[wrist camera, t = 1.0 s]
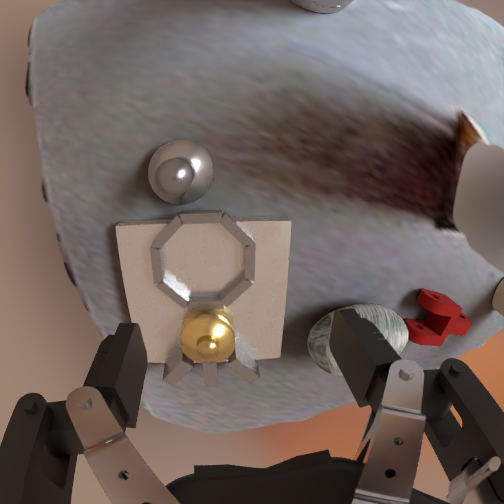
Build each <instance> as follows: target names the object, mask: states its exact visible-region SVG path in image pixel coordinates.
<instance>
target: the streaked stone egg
mask: <svg viewBox="0 0 504 504" xmlns="http://www.w3.org/2000/svg"><path fill="white" fill-rule="evenodd" d="M348 308H353V309H355V311H356V312H357V313H358V314H359V316H360V317H361V318H366V319H367V320H369V321H371V322H372V323H374V324H375V325H376V327H377V328H378V329H379V330H380V333H382V334H383V336H384V337H385V339H387V341H388V342H389V343H390V344H391V346H392V347H393V348H394V350H395V351H396V352H397V354H398V355H399V354H400V353H401V352H402V351H403V349H404V347H405V345H406V343H407V341H408V329H407V327H406V325H405V323H404V321H403V320H402V319H401V317H400V316H399V315H398V314H396V313H395V312H394V311H392V310H391V309H389V308H387V307H385V306H382V305H379V304H372V303H361V304H355V305H350V306H347V307H343V308H340V309H337V310H341V309H348ZM335 311H336V310H335ZM335 311H333V312H331V313H329V314H327V315H326V316H324V317H322V318H321V319H320V320H319V321H318V322H316V323H315V325H314V326H313V327H312V328H311V330H310V332H309V335H308V340H307V345H308V350H309V353H310V355H311V357H312V359H313V360H314V361H315V363H316V364H317V365H318V366H319V367H320V368H321V369H323V370H324V371H326V372H328V373H330V374H332V375H337V376H343V374H342V372H341V370H340V369H339V367H338V365H337V363H336V361H335V359H334V357H333V355H332V353H331V351H330V347H329V338H330V332H331V327H332V321H333V316H334V312H335Z"/></svg>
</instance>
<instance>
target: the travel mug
mask: <svg viewBox="0 0 504 504" xmlns="http://www.w3.org/2000/svg"><path fill="white" fill-rule="evenodd" d="M492 307H493V308H494V309H495V310H496V311H498V312H499V313H500V314H501V315H503V316H504V279H503V280H502V281H501V282H500V283H499V285H498V286H497V288H496V290H495V293H494V296H493V301H492Z"/></svg>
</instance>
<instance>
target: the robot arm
mask: <svg viewBox="0 0 504 504" xmlns="http://www.w3.org/2000/svg"><path fill="white" fill-rule="evenodd" d="M291 1H292V2H293V3H295V4H297V5H298V6H300V7H302V8H305V9H307V10H310V11H314V12H318V13H334V12H338V11H340V10H342V9H344V8H345V7H346V6H348V5H349V4H350V3H351V2H352V1H354V0H291ZM329 347H330V351H331V353H332V355H333V357H334V359H335V361H336V363H337V365H338V367H339V369H340V370H341V372H342V374H343V376H344V378H345V380H346V382H347V384H348V386H349V388H350V390H351V392H352V393H353V395H354V397H355V399H356V401H357V403H358V405H359V407H364V406H367V405H370V406H371V408H372V410H371V412H370V414H369V418H368V421H367V424H366V427H365V430H364V433H363V436H362V438H361V441H360V444H359V447H358V449H357V451H356V453H355V455H354V458H353V459H352V460H351V459H347V458H341V457H331V456H330V453H329V450H324V451H319V452H315V453H310V454H305V455H300V456H296V457H294V458H291V459H289V460H286V461H284V462H281V463H279V464H276V465H273V466H270V467H268V468H252V467H243V466H235V465H205V466H203V465H201V466H194V474H190V475H186V476H183V477H181V478H178V479H176V480H174V481H172V482H171V483H169V484H168V485H166V486H164V484H163V483H162V482H161V481H160V480H159V478H158V477H157V476H156V475H155V474H154V473H153V471H152V470H151V468H150V467H149V466H148V465H147V463H146V462H145V461H144V459H143V458H142V457H141V455H140V454H139V453H138V451H137V450H136V448H135V447H134V446H133V444H132V443H131V441H130V440H129V438H128V437H127V435H126V434H125V430H126V427H128V428H136V422H137V416H138V410H139V405H140V400H141V394H142V389H143V384H144V379H145V374H146V370H147V363H148V359H147V352H146V348H145V344H144V341H143V337H142V333H141V329H140V326H139V324H138V323H120V324H119V325H118V328H117V330H116V333H115V335H108V336H107V337H106V338H105V339H104V340H103V341H102V342H101V344H100V346H99V348H98V351H97V354H96V356H95V358H94V361H93V363H92V365H91V367H90V370H89V372H88V375H87V377H86V380H85V382H84V385H83V387H79V388H77V389H75V390H73V391H72V392H71V393H70V394H69V395H68V397H67V399H66V400H65V401H58V402H49V403H47V402H46V400H45V399H44V397H43V396H42V395H40V394H37V393H29V394H26V395H24V396H23V397H21V398H20V399H19V401H18V402H17V404H16V406H15V409H14V411H13V414H12V416H11V418H10V421H9V424H8V426H7V429H6V431H5V434H4V437H3V440H2V443H1V446H0V504H71V495H72V487H73V480H74V473H75V467H76V461H77V456H78V454H84V456H85V458H86V460H87V462H88V464H89V466H90V467H91V469H92V471H93V473H94V475H95V477H96V478H97V480H98V482H99V483H100V485H101V487H102V488H103V490H104V492H105V493H106V495H107V496H108V498H109V499H110V501H111V503H112V504H504V412H503V411H502V409H501V408H500V407H499V405H498V404H497V403H496V401H495V400H494V399H493V397H492V396H491V395H490V393H489V392H488V391H487V389H486V388H485V387H484V386H483V384H482V383H481V382H480V381H479V379H478V378H477V377H476V375H475V374H474V373H473V372H472V371H471V369H470V368H469V367H468V366H467V365H466V364H465V363H464V362H463V361H461V360H458V359H454V358H450V359H446V360H445V361H443V363H442V364H441V366H440V368H439V369H435V370H423V369H422V368H421V366H419V365H418V364H417V363H415V362H413V361H410V360H404V359H403V360H402V359H401V357H400V356H399V355H398V354H397V352H396V351H395V350H394V348H393V347H392V346H391V344H390V343H389V342H388V341H387V339H385V337H384V336H383V334H382V333H380V330H379V329H378V328H377V327H376V325H375V324H374V323H372V322H371V321H369V320H367V319H366V318H361V317H360V316H359V314H358V313H357V312H356V311H355V309H353V308H348V309H341V310H336V311H335V312H334V316H333V321H332V327H331V332H330V338H329ZM452 405H453V406H454V408H455V409H456V411H457V412H458V414H459V415H460V417H461V419H462V423H463V424H462V428H461V426H460V425H459V423H458V422H457V420H456V418H455V417H454V415H453V414H452V412H451V411H450V408H451V406H452ZM424 432H425V434H426V436H427V437H428V440H429V442H430V443H431V445H432V447H433V449H434V451H435V453H436V455H437V457H438V459H439V461H440V463H441V465H442V467H443V468H444V471H445V473H446V475H447V477H448V479H449V481H450V485H449V489H448V495H447V497H446V500H447V502H445V501H443V500H440V499H438V498H435V497H433V496H430V495H428V494H425V493H423V492H420V491H418V490H416V489H414V488H413V484H414V480H415V476H416V471H417V467H418V462H419V457H420V452H421V446H422V440H423V434H424Z"/></svg>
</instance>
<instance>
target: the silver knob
mask: <svg viewBox="0 0 504 504" xmlns="http://www.w3.org/2000/svg"><path fill="white" fill-rule="evenodd" d="M148 178H149V183H150V185H151V187H152V189H153V191H154V192H155V193H156V194H157V196H159V197H160V198H161V199H162V200H164V201H166V202H168V203H172V204H177V205H182V204H188V203H191V202H194V201H196V200H198V199H199V198H200V197H202V196H203V195H204V194H205V193H206V191H207V190H208V188H209V187H210V185H211V182H212V179H213V163H212V159H211V157H210V155H209V153H208V152H207V151H206V150H205V148H203V147H202V146H201V145H199V144H198V143H196V142H193V141H190V140H185V139H179V140H173V141H170V142H167V143H166V144H164V145H162V146H161V147H160V148H159V149H158V150H157V151H156V152H155V153H154V155H153V156H152V158H151V160H150V163H149V167H148Z"/></svg>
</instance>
